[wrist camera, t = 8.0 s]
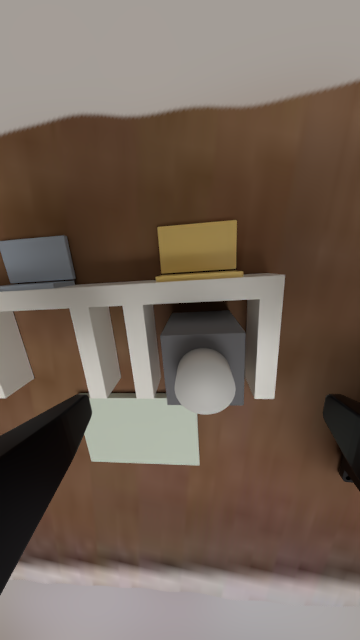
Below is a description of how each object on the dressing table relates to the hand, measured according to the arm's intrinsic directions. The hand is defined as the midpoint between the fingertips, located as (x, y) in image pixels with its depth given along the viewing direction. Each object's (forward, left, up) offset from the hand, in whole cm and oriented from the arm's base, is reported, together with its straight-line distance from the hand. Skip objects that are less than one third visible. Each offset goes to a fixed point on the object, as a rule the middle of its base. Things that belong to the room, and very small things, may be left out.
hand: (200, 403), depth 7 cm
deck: (+5, +8, -7) cm, 12 cm away
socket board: (+5, -1, -7) cm, 9 cm away
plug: (0, 0, -7) cm, 7 cm away
